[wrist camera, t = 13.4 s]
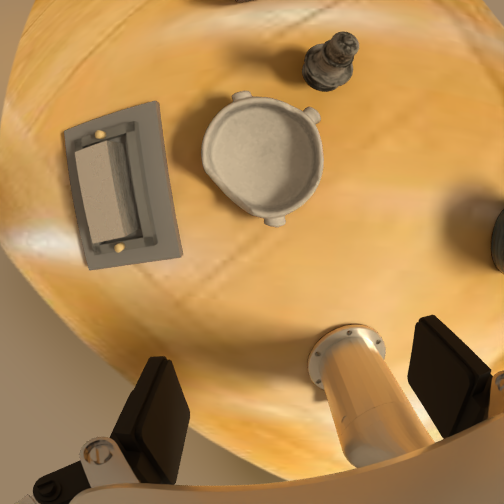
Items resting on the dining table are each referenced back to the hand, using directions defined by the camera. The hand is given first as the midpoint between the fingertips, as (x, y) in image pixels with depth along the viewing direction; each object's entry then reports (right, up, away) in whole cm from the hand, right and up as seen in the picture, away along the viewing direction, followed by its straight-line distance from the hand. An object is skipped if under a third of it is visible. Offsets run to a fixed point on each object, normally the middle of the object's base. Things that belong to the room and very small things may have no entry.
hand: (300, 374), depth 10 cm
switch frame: (-19, +13, +26) cm, 34 cm away
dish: (0, +16, +25) cm, 30 cm away
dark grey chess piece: (+7, +27, +22) cm, 36 cm away
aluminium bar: (-19, +12, +24) cm, 33 cm away
